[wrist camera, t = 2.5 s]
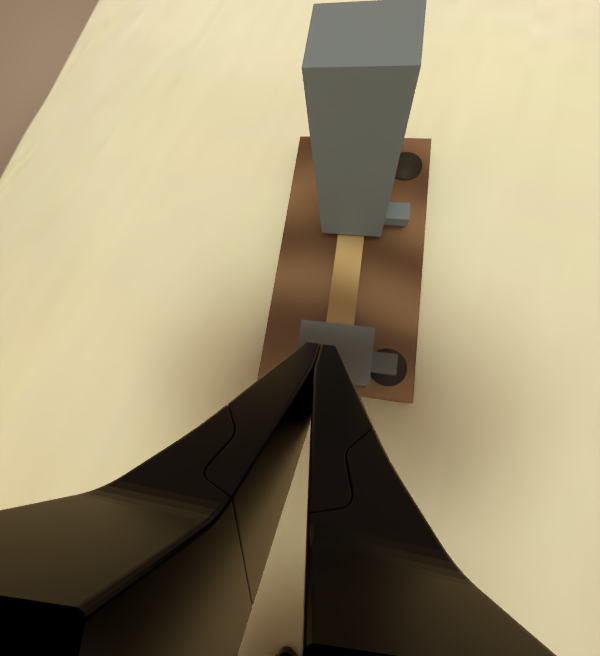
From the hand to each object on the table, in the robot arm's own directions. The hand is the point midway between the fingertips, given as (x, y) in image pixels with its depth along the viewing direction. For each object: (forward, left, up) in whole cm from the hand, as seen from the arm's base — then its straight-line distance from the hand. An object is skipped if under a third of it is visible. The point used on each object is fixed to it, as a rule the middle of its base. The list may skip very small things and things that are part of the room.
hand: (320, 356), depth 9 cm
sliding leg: (+10, +6, -11) cm, 16 cm away
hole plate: (+8, +5, -13) cm, 16 cm away
